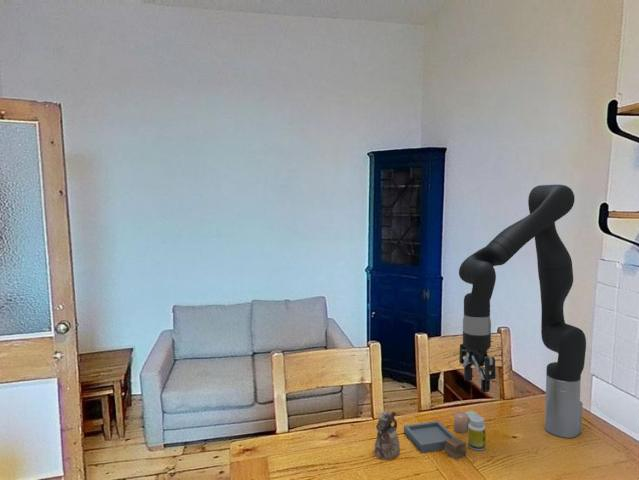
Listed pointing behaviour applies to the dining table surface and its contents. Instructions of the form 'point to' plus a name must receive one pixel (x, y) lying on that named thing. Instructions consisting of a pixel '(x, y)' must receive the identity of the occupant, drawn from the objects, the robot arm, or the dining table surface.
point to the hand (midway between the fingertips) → (476, 385)
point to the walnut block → (455, 448)
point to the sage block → (471, 413)
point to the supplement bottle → (476, 433)
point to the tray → (428, 435)
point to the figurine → (387, 437)
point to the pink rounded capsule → (460, 422)
